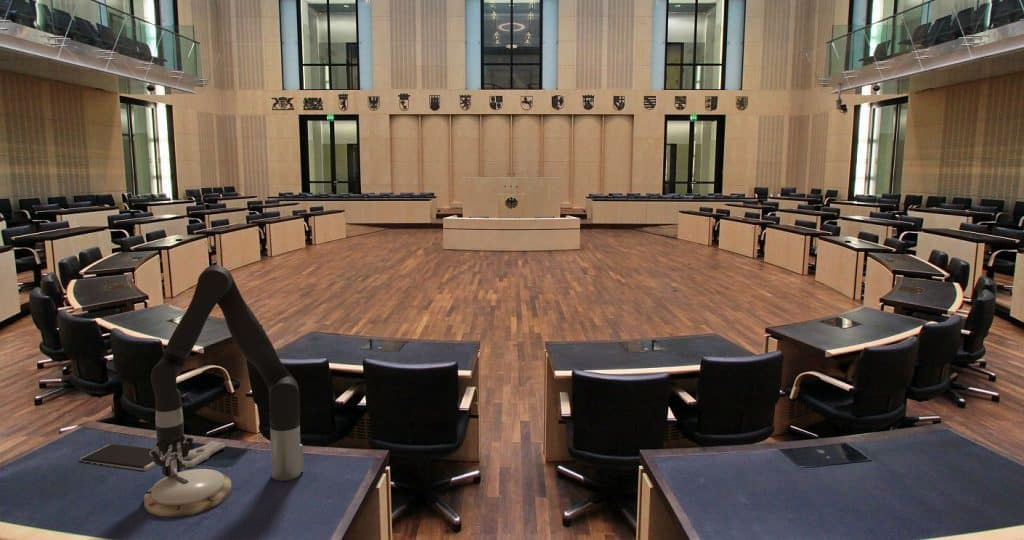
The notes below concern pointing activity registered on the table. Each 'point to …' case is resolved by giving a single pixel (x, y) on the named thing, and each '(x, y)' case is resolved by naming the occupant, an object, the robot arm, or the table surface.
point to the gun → (202, 453)
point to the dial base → (188, 508)
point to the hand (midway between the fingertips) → (172, 473)
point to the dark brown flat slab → (122, 457)
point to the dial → (186, 486)
